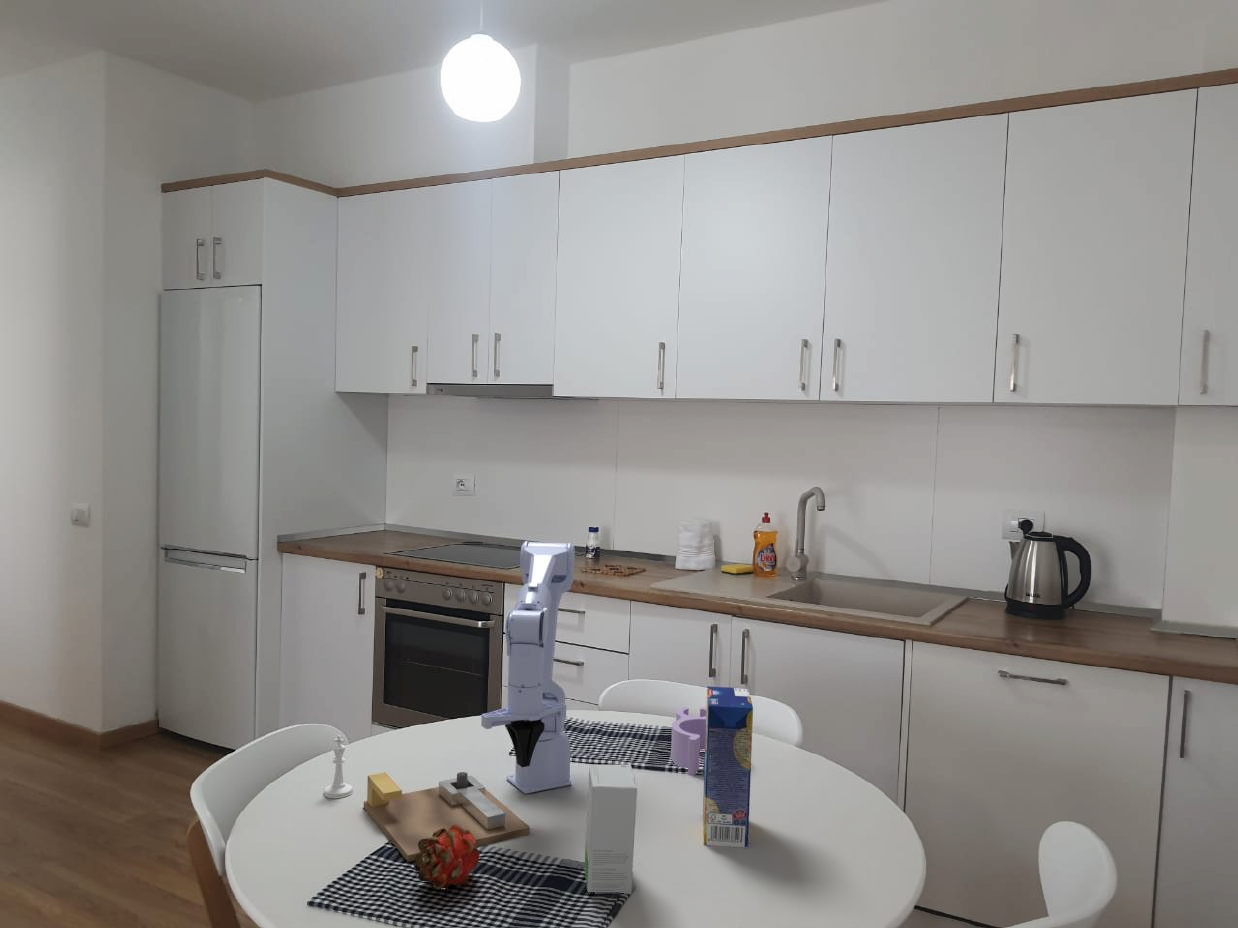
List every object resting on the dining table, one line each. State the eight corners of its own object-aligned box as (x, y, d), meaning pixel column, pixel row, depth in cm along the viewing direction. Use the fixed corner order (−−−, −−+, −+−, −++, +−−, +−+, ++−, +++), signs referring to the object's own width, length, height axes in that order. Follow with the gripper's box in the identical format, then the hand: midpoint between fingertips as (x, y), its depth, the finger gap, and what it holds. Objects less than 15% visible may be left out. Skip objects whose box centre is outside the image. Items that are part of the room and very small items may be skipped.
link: (438, 792, 158) (438, 781, 158) (471, 786, 161) (471, 775, 161) (478, 831, 144) (478, 818, 143) (513, 823, 147) (513, 811, 147)
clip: (663, 739, 193) (664, 706, 192) (722, 739, 193) (723, 707, 193) (676, 775, 173) (677, 739, 172) (742, 776, 174) (743, 739, 173)
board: (474, 785, 165) (475, 757, 165) (530, 833, 146) (531, 802, 146) (363, 807, 154) (364, 777, 154) (407, 861, 136) (408, 828, 135)
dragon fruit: (422, 915, 124) (456, 886, 136) (473, 884, 123) (503, 857, 135) (392, 858, 126) (428, 833, 137) (442, 826, 125) (474, 804, 136)
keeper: (384, 797, 156) (385, 772, 156) (401, 816, 149) (402, 789, 148) (367, 801, 154) (367, 775, 154) (383, 820, 147) (383, 793, 147)
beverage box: (743, 817, 154) (748, 688, 154) (748, 847, 143) (753, 708, 143) (702, 815, 155) (707, 686, 154) (703, 844, 144) (708, 705, 143)
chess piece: (344, 799, 157) (345, 741, 157) (317, 796, 158) (319, 738, 158) (358, 788, 162) (359, 732, 161) (332, 785, 163) (333, 729, 162)
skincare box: (584, 867, 136) (587, 762, 135) (629, 866, 136) (632, 762, 135) (587, 896, 127) (590, 785, 127) (634, 895, 128) (638, 785, 127)
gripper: (495, 694, 144) (492, 780, 144) (576, 683, 152) (573, 765, 152) (476, 683, 150) (474, 765, 150) (555, 673, 158) (553, 751, 158)
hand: (523, 764), depth 152 cm, fingers closed
